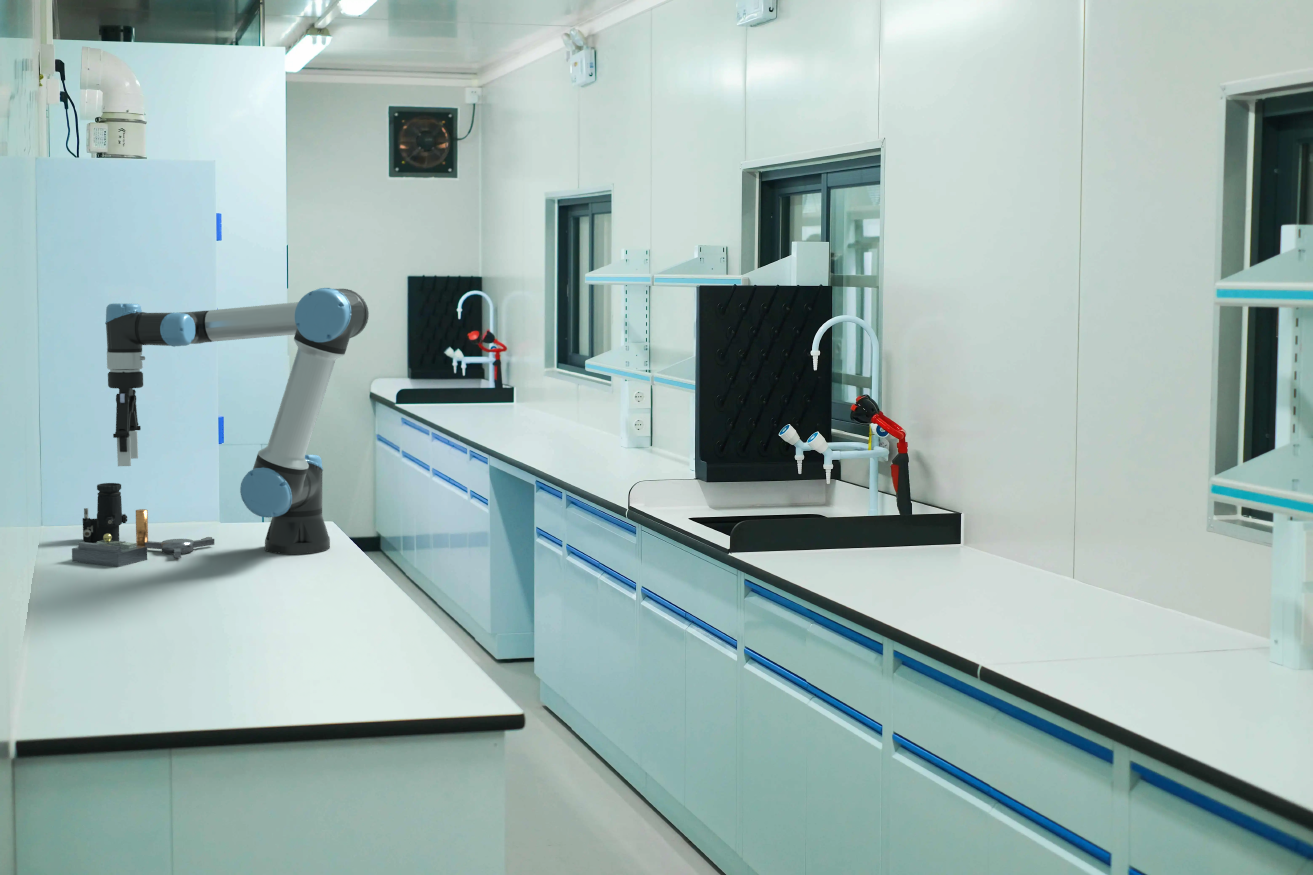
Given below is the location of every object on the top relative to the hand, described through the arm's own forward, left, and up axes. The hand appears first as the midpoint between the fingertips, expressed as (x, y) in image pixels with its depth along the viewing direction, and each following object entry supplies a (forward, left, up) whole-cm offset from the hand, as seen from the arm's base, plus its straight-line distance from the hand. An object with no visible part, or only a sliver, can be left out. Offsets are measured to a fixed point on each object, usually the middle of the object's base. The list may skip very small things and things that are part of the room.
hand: (128, 462), depth 297 cm
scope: (+15, -8, -22) cm, 27 cm away
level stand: (-2, +9, -21) cm, 23 cm away
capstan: (-7, -5, -21) cm, 23 cm away
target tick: (-8, -17, -21) cm, 29 cm away
